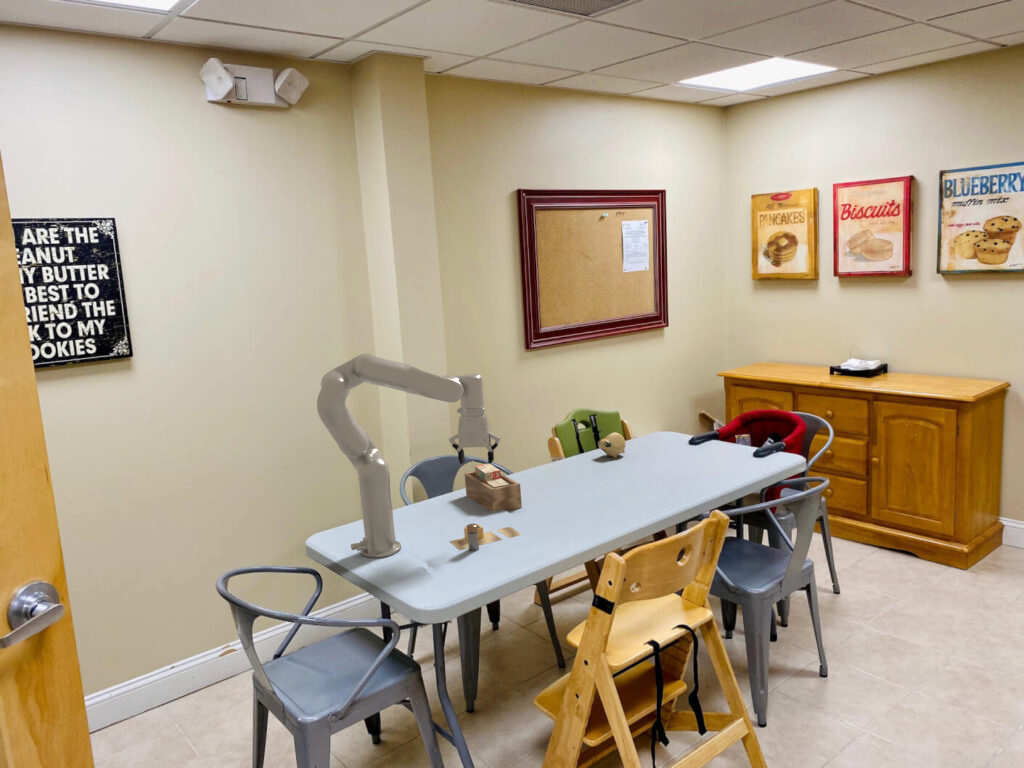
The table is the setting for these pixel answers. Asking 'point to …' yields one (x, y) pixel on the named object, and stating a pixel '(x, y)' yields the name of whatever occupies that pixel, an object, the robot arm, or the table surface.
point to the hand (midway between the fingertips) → (476, 462)
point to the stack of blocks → (489, 475)
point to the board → (485, 538)
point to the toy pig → (612, 444)
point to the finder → (480, 532)
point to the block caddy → (493, 493)
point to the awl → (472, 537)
